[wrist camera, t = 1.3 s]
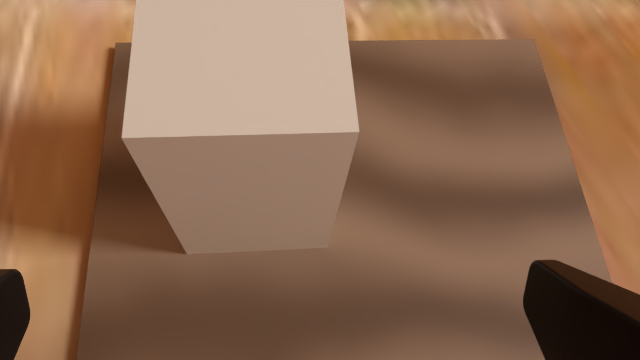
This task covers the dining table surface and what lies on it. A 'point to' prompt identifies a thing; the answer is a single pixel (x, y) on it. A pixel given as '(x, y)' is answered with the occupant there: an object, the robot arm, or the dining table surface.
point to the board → (363, 228)
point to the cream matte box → (242, 119)
